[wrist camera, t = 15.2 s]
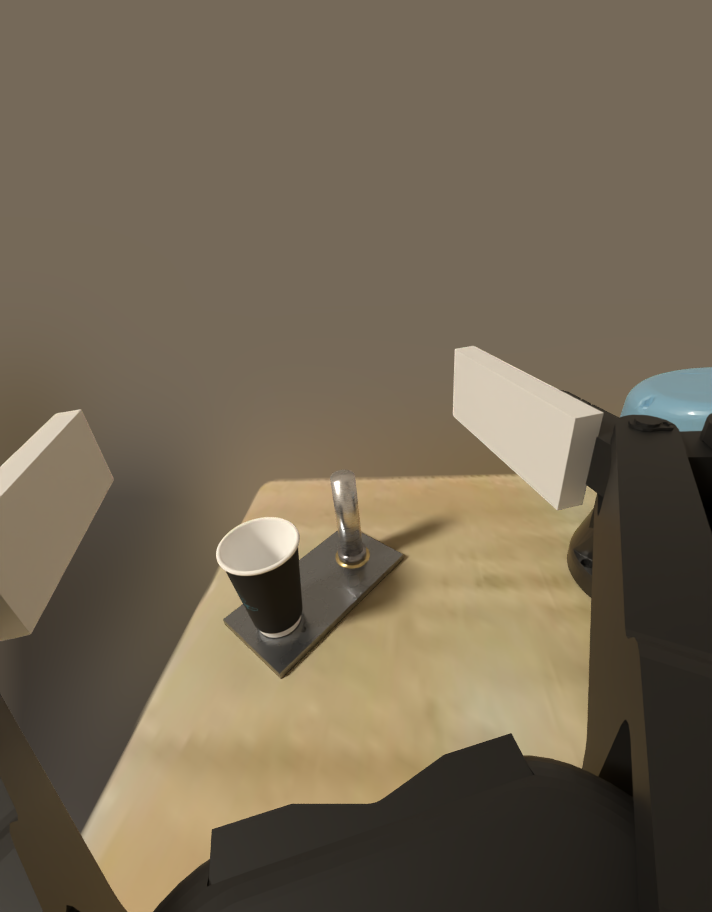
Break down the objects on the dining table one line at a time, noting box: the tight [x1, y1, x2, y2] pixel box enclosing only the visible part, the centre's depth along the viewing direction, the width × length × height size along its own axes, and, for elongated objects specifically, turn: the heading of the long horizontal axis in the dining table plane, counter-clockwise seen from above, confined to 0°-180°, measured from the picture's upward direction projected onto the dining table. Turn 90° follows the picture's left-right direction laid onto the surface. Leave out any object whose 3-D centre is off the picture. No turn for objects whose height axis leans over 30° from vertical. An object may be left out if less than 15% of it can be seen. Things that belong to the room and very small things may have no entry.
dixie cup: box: [216, 517, 303, 638], centre depth 42 cm, size 8×8×11 cm
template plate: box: [223, 531, 403, 678], centre depth 49 cm, size 20×10×1 cm, turn 138°
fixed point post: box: [330, 470, 367, 566], centre depth 49 cm, size 4×4×12 cm
